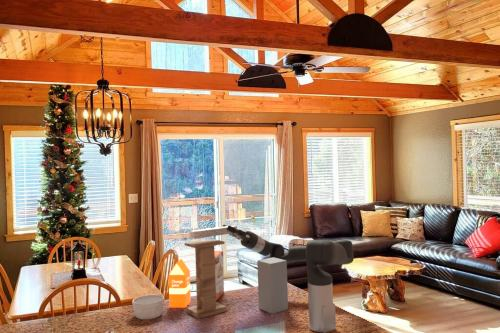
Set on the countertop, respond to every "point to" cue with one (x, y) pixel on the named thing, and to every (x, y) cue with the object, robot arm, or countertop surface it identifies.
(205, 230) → the bar
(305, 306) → the countertop surface
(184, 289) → the orange juice
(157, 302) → the ramekin
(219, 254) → the cracker box
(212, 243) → the wooden pedestal
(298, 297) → the countertop surface
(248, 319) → the countertop surface
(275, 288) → the plinth
